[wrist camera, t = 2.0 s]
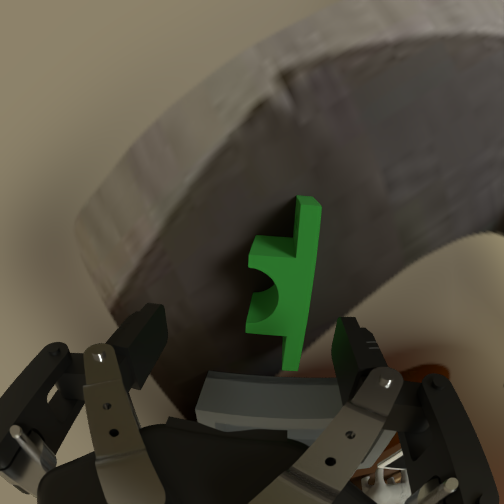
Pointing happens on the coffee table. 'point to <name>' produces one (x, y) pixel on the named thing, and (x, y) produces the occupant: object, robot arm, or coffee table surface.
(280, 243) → the pipe clamp
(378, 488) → the dog figurine
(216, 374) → the bin
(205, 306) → the coffee table surface
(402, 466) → the cell phone
